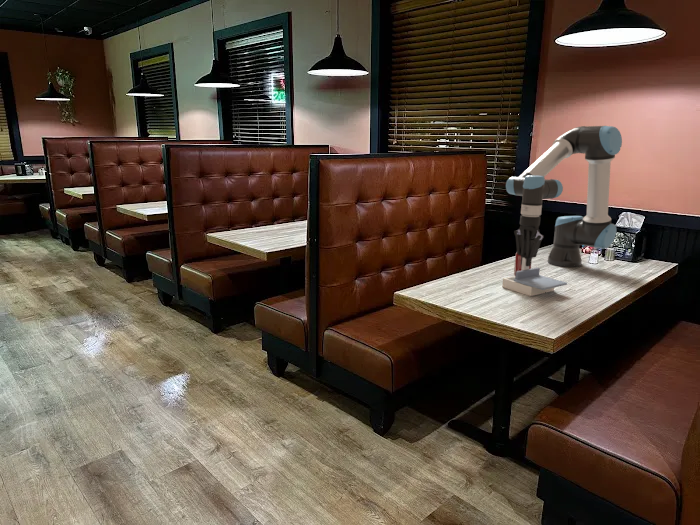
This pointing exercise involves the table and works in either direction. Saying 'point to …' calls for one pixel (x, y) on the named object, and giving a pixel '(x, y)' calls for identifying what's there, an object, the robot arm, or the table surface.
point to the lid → (537, 279)
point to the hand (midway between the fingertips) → (524, 273)
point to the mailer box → (522, 287)
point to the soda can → (518, 264)
